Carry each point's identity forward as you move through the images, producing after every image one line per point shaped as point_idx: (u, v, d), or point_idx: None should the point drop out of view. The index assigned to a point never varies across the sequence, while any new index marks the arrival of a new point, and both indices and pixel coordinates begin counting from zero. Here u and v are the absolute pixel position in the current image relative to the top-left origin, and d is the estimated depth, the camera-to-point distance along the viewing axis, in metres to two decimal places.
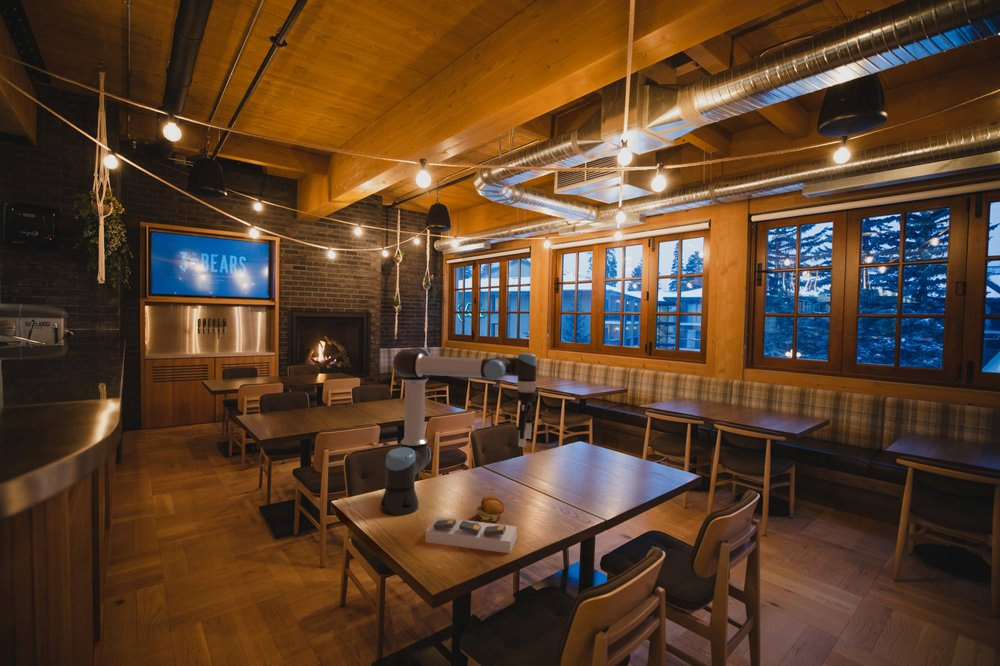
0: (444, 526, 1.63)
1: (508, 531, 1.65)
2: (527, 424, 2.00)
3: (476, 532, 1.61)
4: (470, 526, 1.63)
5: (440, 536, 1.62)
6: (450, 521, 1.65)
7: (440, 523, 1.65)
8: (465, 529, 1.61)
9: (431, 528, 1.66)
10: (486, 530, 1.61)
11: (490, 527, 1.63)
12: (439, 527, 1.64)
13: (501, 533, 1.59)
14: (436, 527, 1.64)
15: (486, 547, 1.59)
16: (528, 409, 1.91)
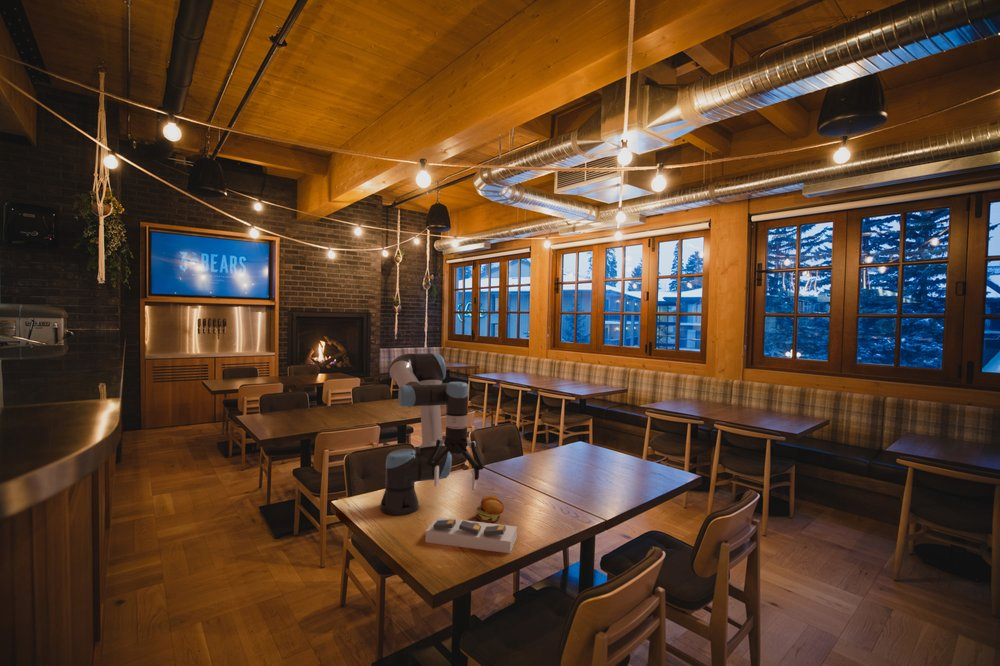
0: (444, 526, 1.63)
1: (508, 531, 1.65)
2: None
3: (476, 532, 1.61)
4: (470, 526, 1.63)
5: (440, 536, 1.62)
6: (450, 521, 1.65)
7: (440, 523, 1.65)
8: (465, 529, 1.61)
9: (431, 528, 1.66)
10: (486, 530, 1.61)
11: (490, 527, 1.63)
12: (439, 527, 1.64)
13: (501, 533, 1.59)
14: (436, 527, 1.64)
15: (486, 547, 1.59)
16: (447, 447, 1.64)
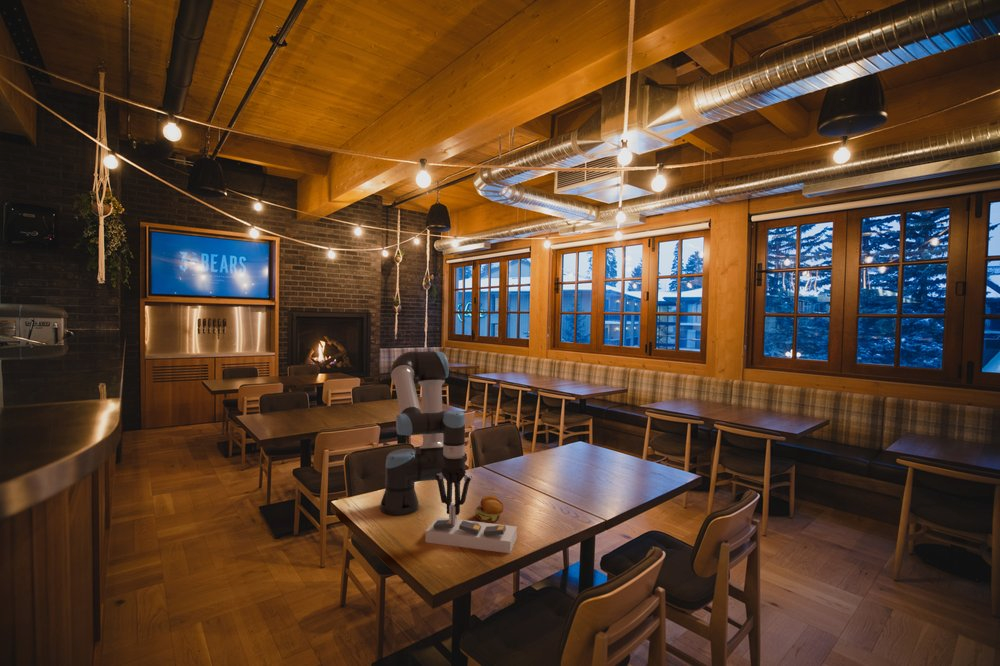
0: (444, 526, 1.63)
1: (508, 531, 1.65)
2: None
3: (476, 532, 1.61)
4: (470, 526, 1.63)
5: (440, 536, 1.62)
6: None
7: (440, 523, 1.65)
8: (465, 529, 1.61)
9: (431, 528, 1.66)
10: (486, 530, 1.61)
11: (490, 527, 1.63)
12: (439, 527, 1.64)
13: (501, 533, 1.59)
14: (436, 527, 1.64)
15: (486, 547, 1.59)
16: (446, 479, 1.63)
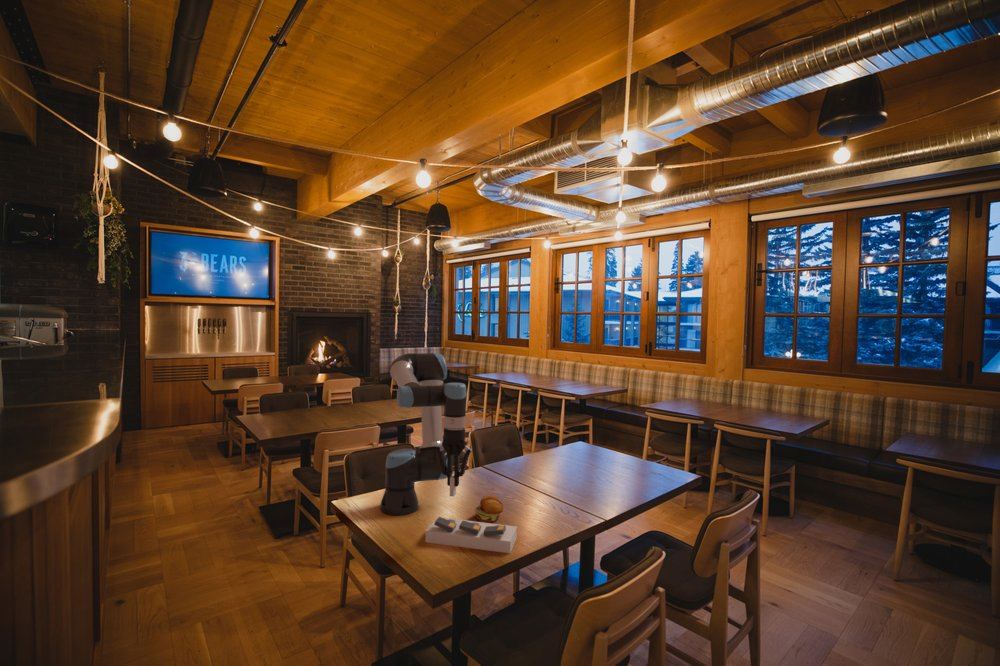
0: (445, 527, 1.63)
1: (508, 531, 1.65)
2: None
3: (476, 532, 1.61)
4: (470, 526, 1.63)
5: (440, 536, 1.62)
6: (452, 524, 1.65)
7: (442, 522, 1.65)
8: (465, 529, 1.61)
9: (431, 528, 1.66)
10: (486, 530, 1.61)
11: (490, 527, 1.63)
12: (440, 525, 1.63)
13: (501, 533, 1.59)
14: (437, 524, 1.64)
15: (486, 547, 1.59)
16: (447, 450, 1.63)
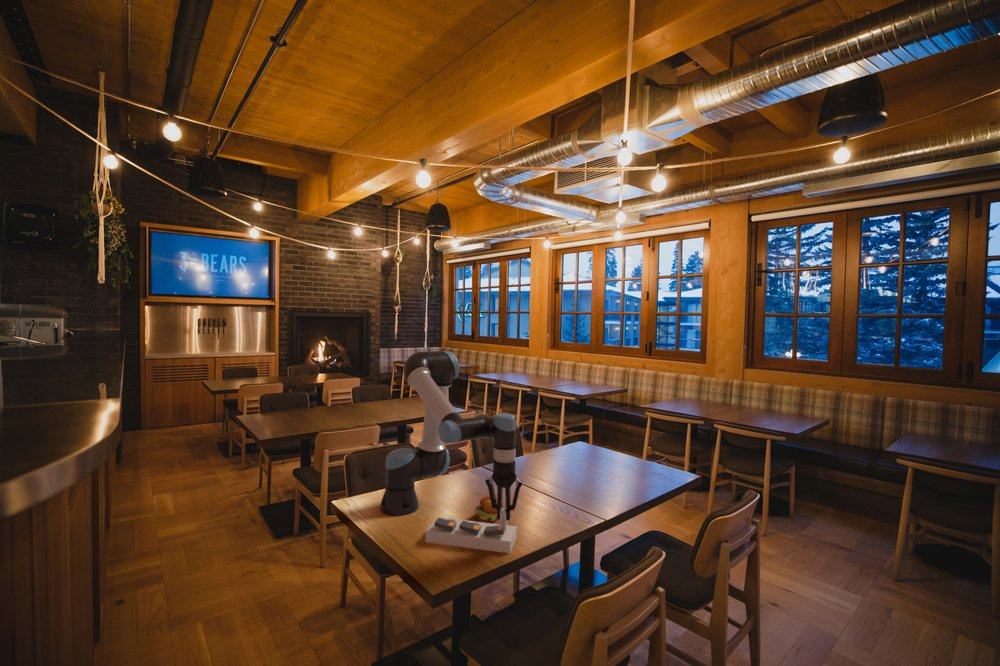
0: (445, 527, 1.63)
1: (508, 531, 1.65)
2: None
3: (476, 532, 1.61)
4: (470, 526, 1.63)
5: (440, 536, 1.62)
6: (451, 523, 1.65)
7: (441, 522, 1.65)
8: (465, 529, 1.61)
9: (431, 528, 1.66)
10: (486, 530, 1.61)
11: (490, 527, 1.63)
12: (439, 526, 1.63)
13: (501, 533, 1.59)
14: (437, 525, 1.64)
15: (486, 547, 1.59)
16: (497, 483, 1.59)
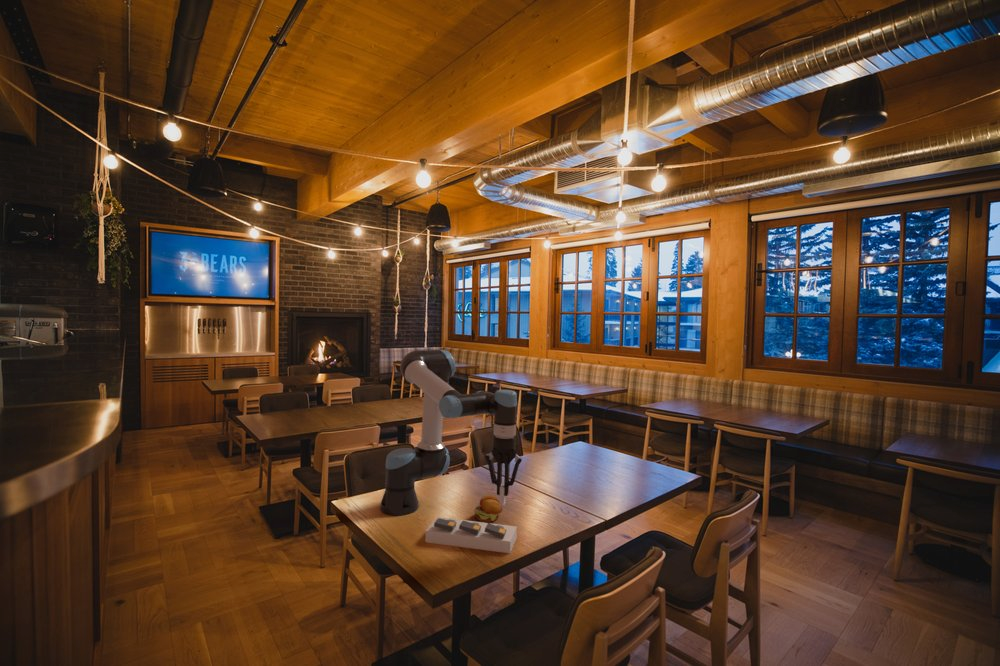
0: (445, 527, 1.63)
1: (508, 531, 1.65)
2: None
3: (476, 532, 1.61)
4: (470, 526, 1.63)
5: (440, 536, 1.62)
6: (451, 523, 1.65)
7: (441, 522, 1.65)
8: (465, 529, 1.61)
9: (431, 528, 1.66)
10: (488, 527, 1.61)
11: (492, 525, 1.63)
12: (439, 526, 1.63)
13: (501, 536, 1.59)
14: (436, 525, 1.64)
15: (486, 547, 1.59)
16: (497, 459, 1.59)
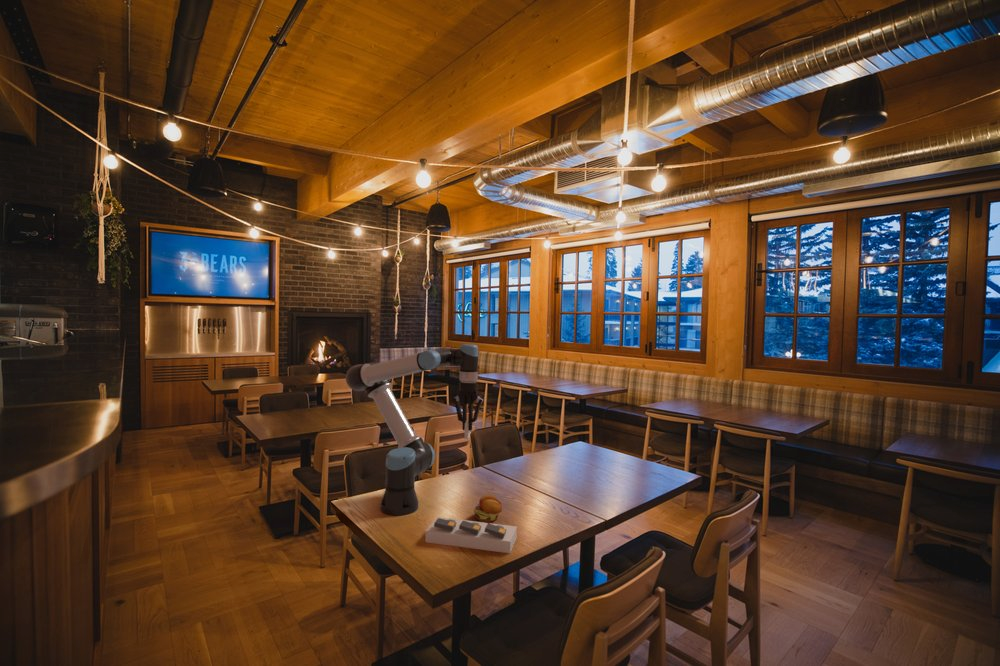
0: (445, 527, 1.63)
1: (508, 531, 1.65)
2: None
3: (476, 532, 1.61)
4: (470, 526, 1.63)
5: (440, 536, 1.62)
6: (451, 523, 1.65)
7: (441, 522, 1.65)
8: (465, 529, 1.61)
9: (431, 528, 1.66)
10: (488, 527, 1.61)
11: (492, 525, 1.63)
12: (439, 526, 1.63)
13: (501, 536, 1.59)
14: (436, 525, 1.64)
15: (486, 547, 1.59)
16: (462, 400, 1.95)
